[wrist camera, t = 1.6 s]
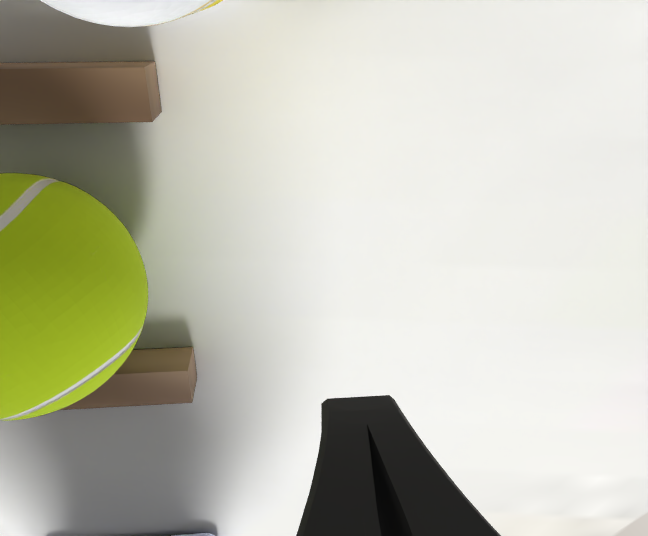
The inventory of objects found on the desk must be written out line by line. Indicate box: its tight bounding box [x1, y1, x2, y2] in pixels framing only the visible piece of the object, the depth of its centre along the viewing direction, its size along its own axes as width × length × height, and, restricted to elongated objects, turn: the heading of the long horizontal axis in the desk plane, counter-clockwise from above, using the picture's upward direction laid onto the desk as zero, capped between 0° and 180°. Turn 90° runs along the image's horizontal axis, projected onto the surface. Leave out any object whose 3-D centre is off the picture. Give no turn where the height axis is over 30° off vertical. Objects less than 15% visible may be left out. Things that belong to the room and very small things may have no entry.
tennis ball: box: [0, 173, 148, 421], centre depth 16 cm, size 7×7×7 cm
